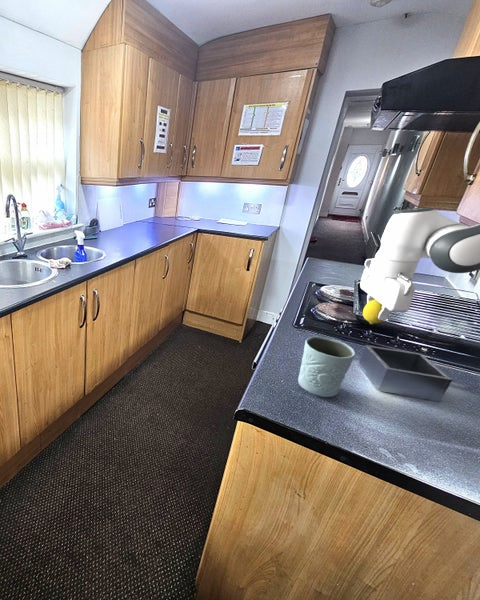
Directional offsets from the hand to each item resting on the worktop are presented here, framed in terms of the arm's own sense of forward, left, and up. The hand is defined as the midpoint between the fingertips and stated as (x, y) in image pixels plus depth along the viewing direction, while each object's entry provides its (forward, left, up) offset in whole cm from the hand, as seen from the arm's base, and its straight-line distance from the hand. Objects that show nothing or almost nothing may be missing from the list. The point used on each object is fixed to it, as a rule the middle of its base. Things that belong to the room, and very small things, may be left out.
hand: (375, 314), depth 95 cm
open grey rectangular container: (-4, +13, -14) cm, 19 cm away
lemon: (0, 0, -3) cm, 3 cm away
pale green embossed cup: (+17, +23, -14) cm, 32 cm away
